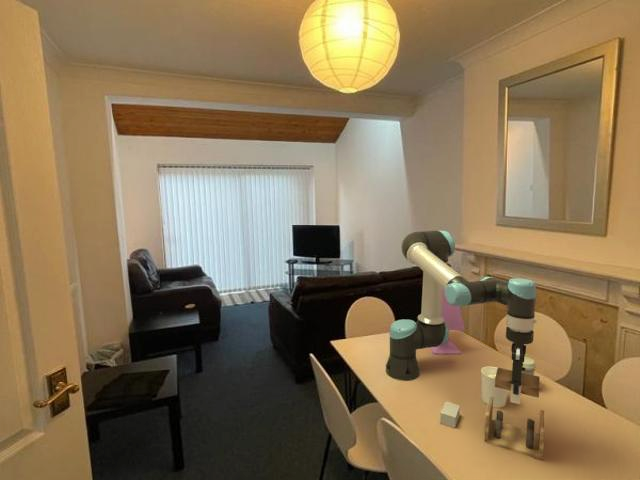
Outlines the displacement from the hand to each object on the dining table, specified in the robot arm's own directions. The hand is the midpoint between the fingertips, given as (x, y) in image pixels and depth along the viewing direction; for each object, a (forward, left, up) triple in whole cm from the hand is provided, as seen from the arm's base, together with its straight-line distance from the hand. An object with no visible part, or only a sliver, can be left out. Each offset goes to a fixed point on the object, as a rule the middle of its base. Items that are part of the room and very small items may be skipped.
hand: (516, 395), depth 112 cm
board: (0, 0, +3) cm, 3 cm away
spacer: (-20, 0, -15) cm, 25 cm away
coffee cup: (+1, +37, -16) cm, 40 cm away
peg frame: (0, 0, -15) cm, 15 cm away
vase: (-36, +58, -16) cm, 70 cm away
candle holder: (-8, +20, -16) cm, 27 cm away
